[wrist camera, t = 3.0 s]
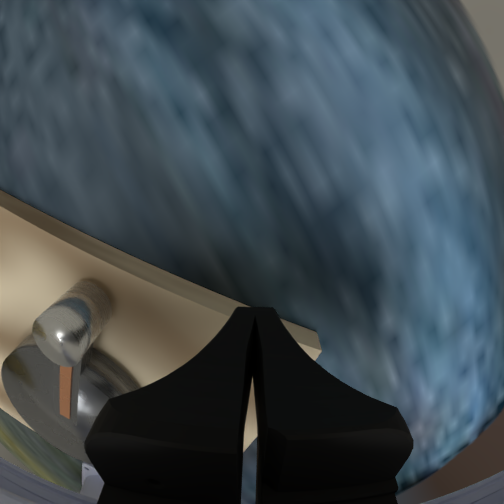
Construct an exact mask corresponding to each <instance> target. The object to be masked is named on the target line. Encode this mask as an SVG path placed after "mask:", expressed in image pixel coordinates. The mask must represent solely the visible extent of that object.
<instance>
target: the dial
mask: <svg viewBox="0 0 504 504" xmlns="http://www.w3.org/2000/svg"><path fill="white" fill-rule="evenodd" d="M111 316H112V306H111V303H110V300H109V298H108V296H107V295H106V294H105V292H104V291H103V290H102V289H101V288H100V287H98V286H97V285H95V284H93V283H91V282H88V281H80V282H77V283H76V284H74V285H73V286H72V287H71V288H70V289H69V290H67V291H66V292H65V293H64V294H63V295H62V296H61V297H59V298H58V299H57V300H56V301H55V302H54V303H53V304H52V305H51V306H49V307H48V308H47V309H46V310H45V311H44V312H43V313H42V314H41V315H40V316H39V317H38V318H36V319H35V321H34V323H33V327H32V332H33V333H32V334H30V335H29V336H27V337H26V338H25V339H24V340H23V341H22V342H21V343H20V344H19V345H18V346H17V347H16V348H15V349H14V350H13V351H12V352H11V353H10V354H9V355H8V356H7V358H6V359H5V360H4V362H3V364H2V368H1V376H2V382H3V386H4V388H5V391H6V393H7V395H8V397H9V399H10V401H11V403H12V404H13V406H14V408H15V409H16V410H17V412H18V413H19V414H20V416H21V417H22V418H23V419H24V421H25V422H26V423H27V424H28V425H29V426H30V427H31V428H32V429H33V430H34V431H35V432H36V433H37V434H39V435H40V436H41V437H42V438H43V439H45V440H46V441H47V442H49V443H50V444H51V445H53V446H54V447H56V448H57V449H59V450H61V451H62V452H64V453H66V454H68V455H70V456H72V457H74V458H76V459H78V460H81V461H83V462H86V463H89V464H92V463H91V461H90V460H89V458H88V456H87V454H86V451H85V449H84V442H85V439H86V437H87V435H88V433H89V431H90V429H91V427H92V425H93V423H94V421H95V419H96V417H97V416H98V414H99V412H100V411H101V409H102V408H103V406H104V405H105V404H106V402H107V401H108V399H109V398H113V397H116V396H119V395H122V394H125V393H128V392H131V391H134V390H137V389H139V387H138V386H137V385H136V384H135V383H134V381H133V380H132V379H131V378H130V377H129V376H128V375H127V374H126V373H125V372H124V371H123V370H122V369H121V368H120V367H119V366H118V365H117V364H115V363H114V362H113V361H112V360H110V359H109V358H108V357H107V356H105V355H104V354H102V353H101V352H99V351H98V350H96V349H95V348H93V343H94V340H95V339H96V338H97V336H98V335H99V334H100V332H101V331H102V330H103V329H104V327H105V326H106V325H107V323H108V322H109V321H110V319H111Z"/></svg>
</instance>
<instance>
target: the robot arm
mask: <svg viewBox="0 0 504 504" xmlns="http://www.w3.org/2000/svg"><path fill="white" fill-rule="evenodd" d="M252 378H253V386H254V397H255V409H256V420H257V472H256V504H398V503H397V500H396V497H395V492H397V490H398V485H397V481H396V478H395V476H396V475H397V473H398V472H399V471H400V469H401V468H402V466H403V465H404V463H405V462H406V460H407V459H408V457H409V456H410V454H411V452H412V449H413V438H412V436H411V433H410V431H409V429H408V426H407V424H406V422H405V420H404V419H403V417H402V415H401V414H400V412H399V410H398V408H397V407H394V406H392V405H389V404H386V403H384V402H381V401H379V400H376V399H374V398H371V397H369V396H367V395H365V394H363V393H361V392H359V391H357V390H355V389H354V388H352V387H350V386H348V385H347V384H345V383H343V382H342V381H340V380H339V379H337V378H336V377H334V376H333V375H331V374H330V373H329V372H327V371H326V370H325V369H323V368H322V367H321V366H320V365H319V364H317V363H316V362H315V361H314V360H313V359H312V358H311V357H310V356H309V355H308V354H307V353H306V352H305V351H304V350H303V349H302V348H301V347H300V345H299V344H298V343H297V342H296V341H295V339H294V338H293V337H292V335H291V334H290V333H289V331H288V330H287V329H286V327H285V326H284V324H283V323H282V321H281V320H280V318H279V316H278V314H277V312H276V310H275V309H274V308H269V307H240V306H238V307H237V308H235V310H234V311H233V313H232V315H231V316H230V318H229V319H228V321H227V322H226V323H225V325H224V326H223V327H222V328H221V330H220V331H219V332H218V333H217V335H216V336H215V337H214V338H213V339H212V340H211V341H210V342H209V343H208V344H207V345H206V346H205V347H204V348H203V349H202V350H201V351H200V352H199V353H198V354H196V355H195V356H194V357H193V358H192V359H190V360H189V361H188V362H187V363H185V364H184V365H182V366H181V367H179V368H178V369H176V370H175V371H173V372H171V373H170V374H168V375H166V376H165V377H163V378H161V379H159V380H157V381H155V382H153V383H151V384H149V385H146V386H144V387H142V388H139V389H137V390H134V391H131V392H128V393H125V394H122V395H119V396H116V397H113V398H109V399H108V401H107V402H106V404H105V405H104V406H103V408H102V409H101V411H100V412H99V414H98V416H97V417H96V419H95V421H94V423H93V425H92V427H91V429H90V431H89V433H88V435H87V437H86V439H85V442H84V449H85V451H86V454H87V456H88V458H89V460H90V461H91V463H92V464H89V463H86V462H83V463H82V488H81V491H80V493H77V492H74V491H71V490H69V489H66V488H64V487H61V486H59V485H56V484H54V483H52V482H49V481H47V480H45V479H42V478H40V477H38V476H36V475H33V474H32V473H30V472H28V471H25V470H24V469H21V468H20V467H18V466H15V465H14V464H12V463H10V462H8V461H6V460H5V459H3V458H1V457H0V504H241V487H242V466H243V446H244V431H245V423H246V416H247V410H248V404H249V397H250V391H251V384H252ZM421 504H504V470H503V471H501V472H500V473H498V474H495V475H493V476H491V477H489V478H487V479H485V480H483V481H480V482H478V483H476V484H473V485H471V486H469V487H466V488H464V489H461V490H458V491H456V492H453V493H451V494H448V495H445V496H442V497H439V498H436V499H433V500H430V501H427V502H424V503H421Z"/></svg>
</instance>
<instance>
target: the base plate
mask: <svg viewBox="0 0 504 504" xmlns="http://www.w3.org/2000/svg"><path fill="white" fill-rule="evenodd" d="M80 281H88V282H91V283H93V284H95V285H97V286H98V287H100V288H101V289H102V290H103V291H104V292H105V294H106V295H107V296H108V298H109V300H110V303H111V306H112V316H111V319H110V321H109V322H108V323H107V325H106V326H105V327H104V329H103V330H102V331H101V332H100V334H99V335H98V336H97V338H96V339H95V340H94V343H93V348H95V349H96V350H98V351H99V352H101V353H102V354H104V355H105V356H107V357H108V358H109V359H110V360H112V361H113V362H114V363H115V364H117V365H118V366H119V367H120V368H121V369H122V370H123V371H124V372H125V373H126V374H127V375H128V376H129V377H130V378H131V379H132V380H133V381H134V383H135V384H136V385H137V386H138V387H139V388H142V387H144V386H146V385H149V384H151V383H153V382H155V381H157V380H159V379H161V378H163V377H165V376H166V375H168V374H170V373H171V372H173V371H175V370H176V369H178V368H179V367H181V366H182V365H184V364H185V363H187V362H188V361H189V360H190V359H192V358H193V357H194V356H195V355H196V354H198V353H199V352H200V351H201V350H202V349H203V348H204V347H205V346H206V345H207V344H208V343H209V342H210V341H211V340H212V339H213V338H214V337H215V336H216V335H217V333H218V332H219V331H220V330H221V328H222V327H223V326H224V325H225V323H226V322H227V321H228V319H229V318H230V316H231V315H232V313H233V311H234V310H235V308H237V307H238V306H240V307H250V306H247V305H245V304H242V303H240V302H237V301H235V300H233V299H230V298H228V297H225V296H223V295H220V294H218V293H216V292H213V291H211V290H208V289H206V288H204V287H201V286H199V285H197V284H194V283H192V282H190V281H187V280H185V279H183V278H180V277H178V276H176V275H174V274H171V273H169V272H167V271H164V270H162V269H160V268H158V267H155V266H153V265H151V264H149V263H147V262H144V261H142V260H140V259H138V258H136V257H133V256H131V255H129V254H127V253H125V252H123V251H120V250H118V249H116V248H114V247H112V246H110V245H108V244H106V243H103V242H101V241H99V240H97V239H95V238H93V237H91V236H89V235H87V234H85V233H83V232H81V231H79V230H77V229H75V228H73V227H71V226H69V225H67V224H65V223H63V222H61V221H59V220H57V219H55V218H53V217H51V216H49V215H47V214H45V213H43V212H41V211H39V210H37V209H35V208H33V207H31V206H30V205H28V204H26V203H24V202H22V201H20V200H18V199H16V198H14V197H13V196H11V195H9V194H7V193H5V192H3V191H2V190H0V408H1V409H3V410H4V411H5V412H7V413H8V414H10V415H11V416H12V417H14V418H15V419H17V420H18V421H20V422H21V423H23V424H24V425H26V426H27V427H29V428H30V429H32V428H31V427H30V426H29V425H28V424H27V423H26V422H25V421H24V419H23V418H22V417H21V416H20V414H19V413H18V412H17V410H16V409H15V408H14V406H13V404H12V403H11V401H10V399H9V397H8V395H7V393H6V391H5V388H4V386H3V382H2V376H1V368H2V364H3V362H4V360H5V359H6V358H7V356H8V355H9V354H10V353H11V352H12V351H13V350H14V349H15V348H16V347H17V346H18V345H19V344H20V343H21V342H22V341H23V340H24V339H25V338H26V337H27V336H29V335H30V334H32V333H33V332H32V327H33V323H34V321H35V319H36V318H38V317H39V316H40V315H41V314H42V313H43V312H44V311H45V310H46V309H47V308H48V307H49V306H51V305H52V304H53V303H54V302H55V301H56V300H57V299H58V298H59V297H61V296H62V295H63V294H64V293H65V292H66V291H67V290H69V289H70V288H71V287H72V286H73V285H74V284H76V283H77V282H80ZM280 320H281V321H282V323H283V324H284V326H285V327H286V329H287V330H288V331H289V333H290V334H291V335H292V337H293V338H294V339H295V341H296V342H297V343H298V344H299V345H300V347H301V348H302V349H303V350H304V351H305V352H306V353H307V354H308V355H309V356H310V357H311V358H312V359H313V360H314V361H315V360H316V359H317V357H318V356H319V354H320V353H321V351H322V349H321V346H320V342H319V338H318V335H317V332H315V331H312V330H309V329H307V328H304V327H301V326H299V325H296V324H293V323H291V322H288V321H286V320H283V319H280ZM32 430H33V429H32ZM33 431H34V430H33ZM256 437H257V420H256V409H255V397H254V386H253V378H252V384H251V391H250V397H249V404H248V410H247V416H246V423H245V431H244V446H243V452H244V451H245V450H246V449H247V448H248V446H249V445H250V444H251V443H252V442H253V440H254V439H255V438H256Z"/></svg>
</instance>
